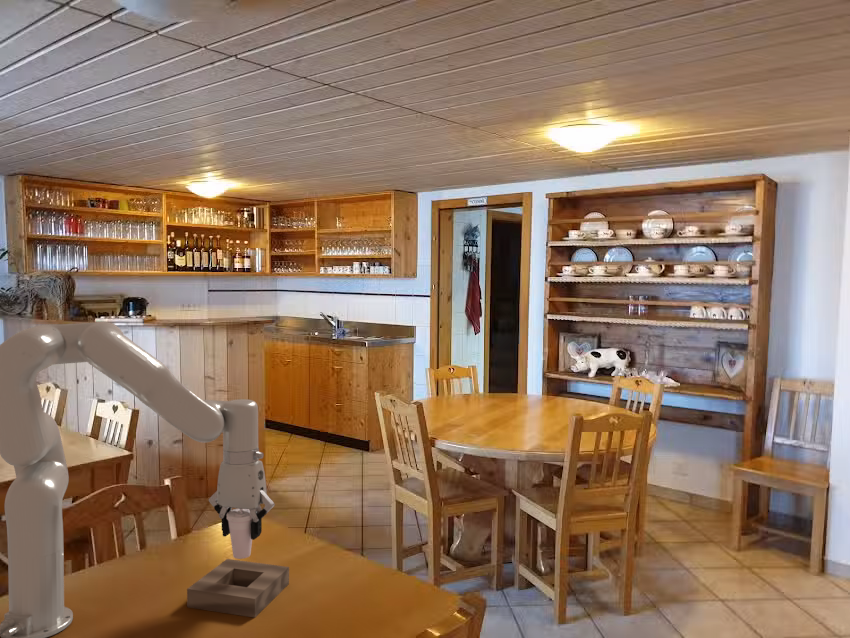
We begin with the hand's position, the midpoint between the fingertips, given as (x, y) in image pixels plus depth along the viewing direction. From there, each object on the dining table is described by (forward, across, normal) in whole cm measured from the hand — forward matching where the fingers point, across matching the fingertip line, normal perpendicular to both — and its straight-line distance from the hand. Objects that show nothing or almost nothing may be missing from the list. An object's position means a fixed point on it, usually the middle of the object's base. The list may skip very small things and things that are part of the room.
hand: (241, 535), depth 145 cm
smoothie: (+5, 0, 0) cm, 5 cm away
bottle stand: (+14, 0, 0) cm, 14 cm away
